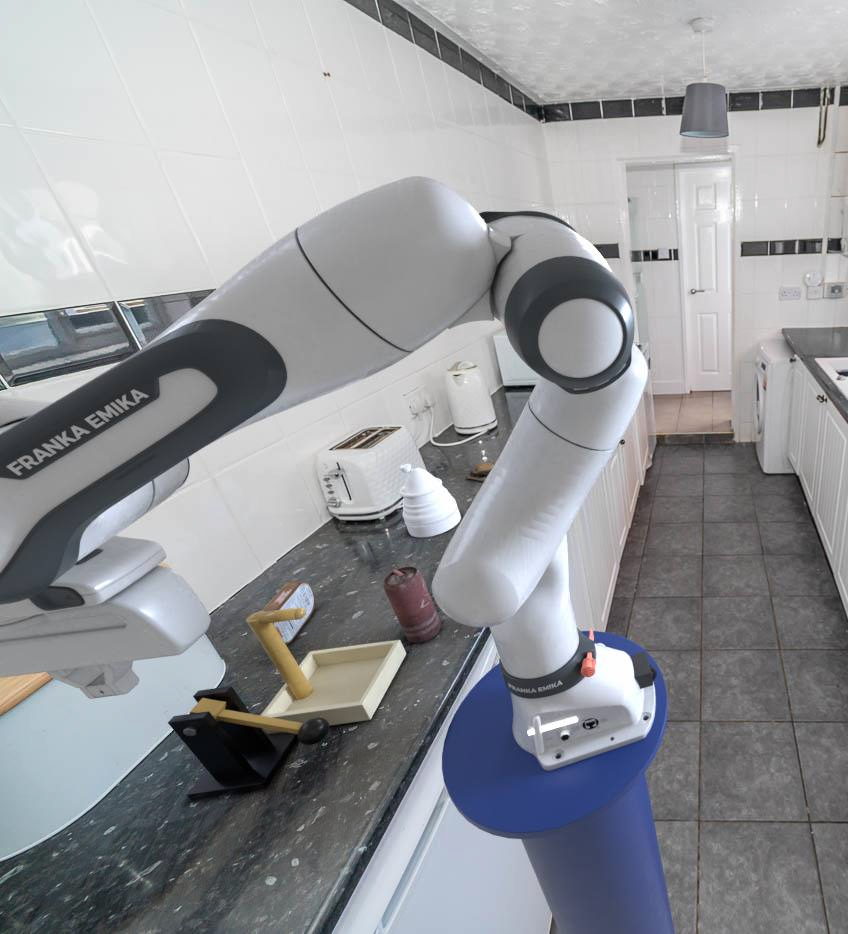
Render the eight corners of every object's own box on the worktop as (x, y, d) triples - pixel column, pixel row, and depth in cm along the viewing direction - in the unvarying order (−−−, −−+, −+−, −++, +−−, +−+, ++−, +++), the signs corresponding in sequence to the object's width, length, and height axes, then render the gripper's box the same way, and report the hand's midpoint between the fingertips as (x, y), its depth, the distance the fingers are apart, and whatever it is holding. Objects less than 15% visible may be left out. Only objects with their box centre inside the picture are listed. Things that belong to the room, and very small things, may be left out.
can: (427, 617, 98) (404, 561, 92) (448, 625, 95) (426, 569, 89) (399, 638, 93) (372, 581, 87) (421, 648, 90) (395, 589, 84)
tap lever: (332, 729, 73) (336, 714, 72) (318, 752, 70) (322, 737, 68) (204, 707, 68) (207, 690, 67) (183, 730, 65) (185, 713, 64)
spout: (351, 684, 84) (306, 603, 76) (344, 696, 82) (297, 613, 74) (302, 691, 83) (252, 609, 75) (293, 703, 81) (240, 620, 73)
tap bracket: (301, 736, 76) (260, 674, 69) (266, 788, 68) (217, 724, 62) (233, 746, 75) (185, 684, 69) (190, 800, 68) (133, 736, 61)
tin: (308, 604, 104) (290, 573, 100) (324, 601, 104) (307, 570, 101) (267, 658, 91) (245, 625, 87) (285, 655, 91) (265, 621, 87)
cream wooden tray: (406, 653, 90) (400, 639, 88) (370, 719, 77) (362, 704, 76) (318, 665, 88) (309, 651, 87) (267, 734, 76) (256, 719, 75)
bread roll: (484, 482, 151) (481, 472, 150) (465, 479, 155) (461, 468, 153) (509, 468, 160) (506, 458, 158) (490, 464, 163) (487, 454, 161)
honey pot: (405, 542, 123) (380, 480, 115) (412, 518, 134) (389, 459, 126) (459, 529, 127) (439, 468, 119) (462, 507, 138) (443, 449, 130)
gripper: (-184, 620, 36) (-46, 738, 43) (111, 585, 38) (203, 704, 44) (-74, 568, 42) (33, 679, 48) (179, 540, 44) (252, 650, 50)
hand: (116, 690), depth 46 cm, fingers closed
